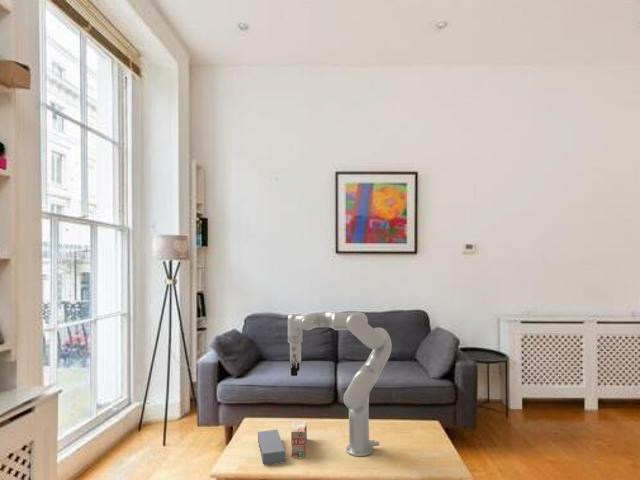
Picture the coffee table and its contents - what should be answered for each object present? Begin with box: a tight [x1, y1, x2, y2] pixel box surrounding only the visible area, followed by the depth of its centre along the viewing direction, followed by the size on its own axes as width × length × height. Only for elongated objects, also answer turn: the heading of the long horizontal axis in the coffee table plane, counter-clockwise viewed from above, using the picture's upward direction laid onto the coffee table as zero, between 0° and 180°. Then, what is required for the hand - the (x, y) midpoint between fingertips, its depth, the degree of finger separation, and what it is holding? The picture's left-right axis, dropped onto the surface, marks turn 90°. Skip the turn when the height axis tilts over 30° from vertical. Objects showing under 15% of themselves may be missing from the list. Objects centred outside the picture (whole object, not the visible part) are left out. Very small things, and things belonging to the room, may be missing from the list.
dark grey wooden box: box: [257, 429, 286, 466], centre depth 206 cm, size 10×26×5 cm, turn 13°
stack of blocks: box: [290, 420, 308, 459], centre depth 209 cm, size 21×6×12 cm, turn 179°
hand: (295, 373), depth 217 cm, fingers open, 9 cm apart
